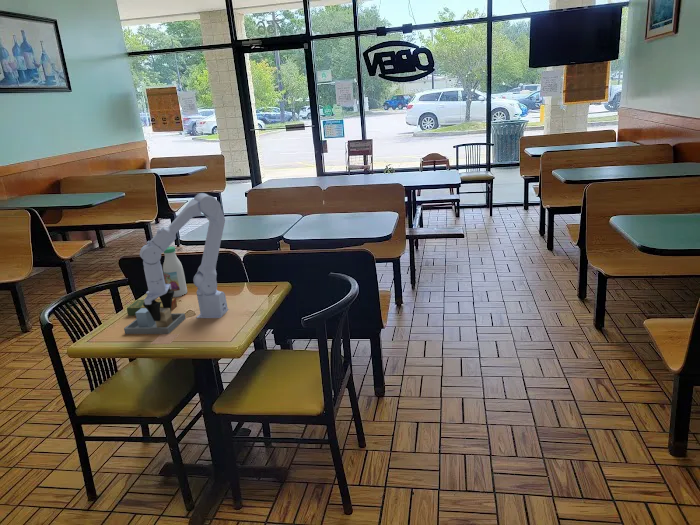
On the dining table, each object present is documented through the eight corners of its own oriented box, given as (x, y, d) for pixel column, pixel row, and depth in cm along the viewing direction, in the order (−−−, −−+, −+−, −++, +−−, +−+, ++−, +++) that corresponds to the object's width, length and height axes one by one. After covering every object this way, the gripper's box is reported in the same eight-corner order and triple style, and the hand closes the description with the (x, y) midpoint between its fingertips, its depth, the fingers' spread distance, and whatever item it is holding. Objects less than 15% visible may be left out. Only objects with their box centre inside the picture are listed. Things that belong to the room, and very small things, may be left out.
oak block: (173, 323, 184) (169, 307, 183) (167, 328, 181) (164, 312, 179) (162, 323, 185) (159, 307, 183) (157, 328, 181) (153, 312, 180)
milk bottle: (179, 289, 220) (171, 244, 214) (191, 292, 215) (182, 246, 209) (164, 296, 214) (154, 249, 208) (175, 298, 209) (166, 251, 203)
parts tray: (185, 319, 188) (184, 313, 187) (169, 335, 176) (167, 328, 176) (144, 319, 191) (143, 313, 190) (125, 335, 179) (123, 328, 179)
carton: (168, 316, 193) (165, 306, 192) (128, 318, 195) (125, 307, 194) (177, 307, 201) (175, 297, 200) (139, 309, 203) (136, 298, 202)
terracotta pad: (180, 335, 175) (180, 334, 175) (170, 345, 169) (169, 343, 169) (161, 335, 177) (161, 334, 176) (150, 345, 170) (150, 343, 170)
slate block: (155, 323, 186) (151, 308, 184) (149, 328, 182) (145, 312, 180) (144, 323, 186) (141, 308, 185) (138, 328, 183) (135, 312, 181)
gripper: (155, 272, 185) (162, 307, 189) (132, 287, 172) (141, 324, 176) (173, 272, 184) (180, 307, 188) (152, 286, 170) (160, 324, 174)
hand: (162, 315), depth 182 cm, fingers open, 7 cm apart
